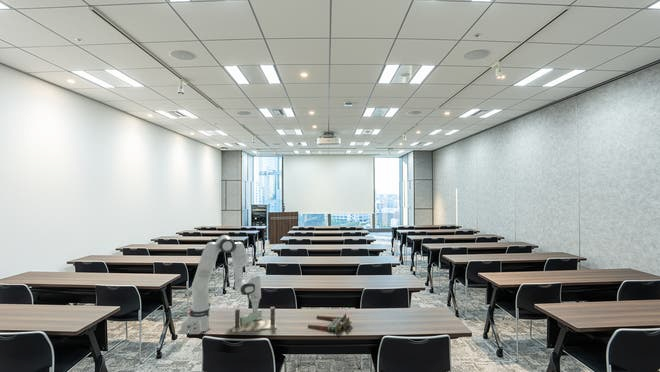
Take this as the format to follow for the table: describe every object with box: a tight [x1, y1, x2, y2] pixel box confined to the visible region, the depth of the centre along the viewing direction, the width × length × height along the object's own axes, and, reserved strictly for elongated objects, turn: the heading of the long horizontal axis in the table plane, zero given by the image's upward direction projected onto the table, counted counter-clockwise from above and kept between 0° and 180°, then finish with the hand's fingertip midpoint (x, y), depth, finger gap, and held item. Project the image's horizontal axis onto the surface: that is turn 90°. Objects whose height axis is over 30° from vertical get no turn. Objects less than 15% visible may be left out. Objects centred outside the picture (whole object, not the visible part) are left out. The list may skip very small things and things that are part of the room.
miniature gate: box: [307, 313, 352, 335], centre depth 237 cm, size 27×6×30 cm
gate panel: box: [240, 308, 263, 326], centre depth 240 cm, size 21×2×6 cm, turn 148°
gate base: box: [232, 306, 277, 334], centre depth 234 cm, size 31×14×13 cm, turn 103°
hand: (255, 313), depth 250 cm, fingers closed
